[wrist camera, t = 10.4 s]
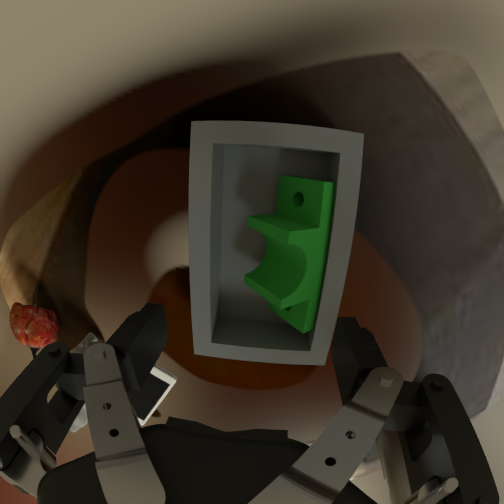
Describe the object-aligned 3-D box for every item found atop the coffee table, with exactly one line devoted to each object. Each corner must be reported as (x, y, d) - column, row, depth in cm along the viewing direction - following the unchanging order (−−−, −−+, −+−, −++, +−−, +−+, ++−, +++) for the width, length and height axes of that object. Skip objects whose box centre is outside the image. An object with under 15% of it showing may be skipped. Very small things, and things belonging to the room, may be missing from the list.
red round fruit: (36, 286, 31) (30, 351, 28) (5, 274, 24) (-2, 349, 21) (71, 292, 31) (65, 363, 28) (41, 280, 24) (33, 365, 21)
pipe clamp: (248, 173, 18) (293, 179, 15) (289, 175, 20) (335, 181, 17) (242, 316, 22) (277, 346, 18) (278, 305, 24) (314, 329, 20)
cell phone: (102, 398, 34) (101, 401, 34) (124, 343, 29) (121, 346, 29) (144, 423, 35) (142, 426, 35) (178, 376, 30) (177, 380, 30)
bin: (318, 331, 26) (324, 365, 21) (207, 322, 26) (194, 353, 22) (345, 138, 20) (363, 133, 15) (209, 128, 20) (191, 121, 16)
